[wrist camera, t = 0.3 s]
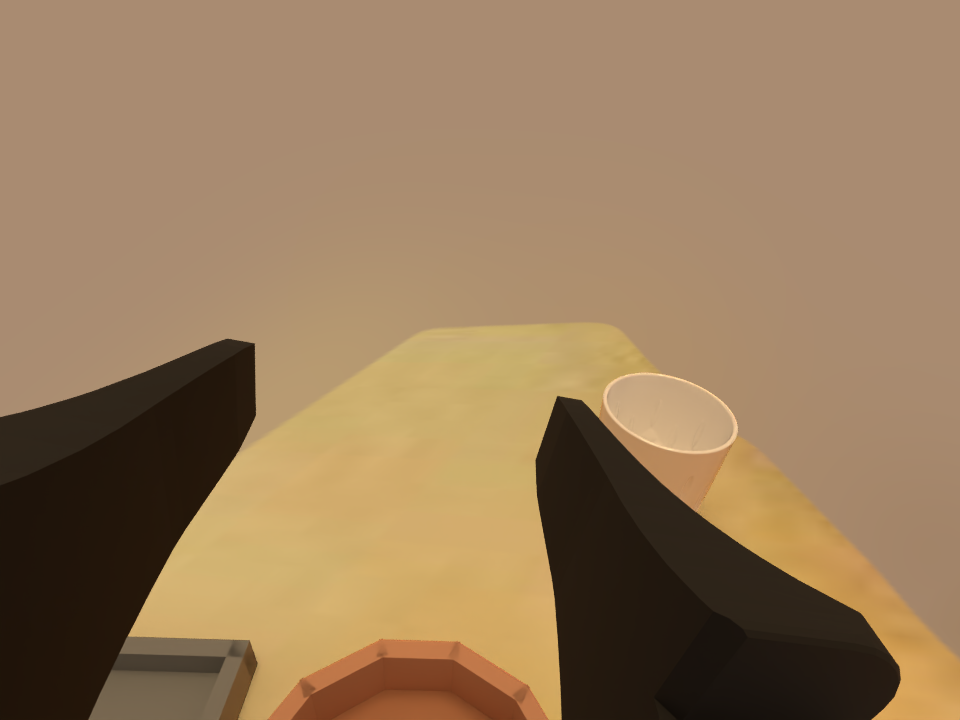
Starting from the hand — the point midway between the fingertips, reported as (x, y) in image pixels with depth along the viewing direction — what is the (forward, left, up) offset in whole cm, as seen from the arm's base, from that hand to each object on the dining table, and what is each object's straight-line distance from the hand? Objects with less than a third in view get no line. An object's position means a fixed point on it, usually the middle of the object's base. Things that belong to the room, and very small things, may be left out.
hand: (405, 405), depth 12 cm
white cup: (+14, -14, -21) cm, 29 cm away
